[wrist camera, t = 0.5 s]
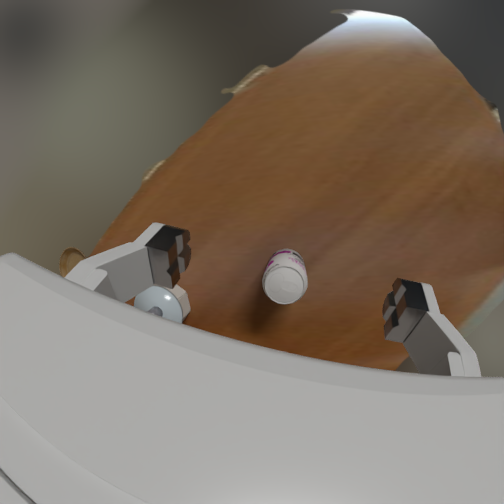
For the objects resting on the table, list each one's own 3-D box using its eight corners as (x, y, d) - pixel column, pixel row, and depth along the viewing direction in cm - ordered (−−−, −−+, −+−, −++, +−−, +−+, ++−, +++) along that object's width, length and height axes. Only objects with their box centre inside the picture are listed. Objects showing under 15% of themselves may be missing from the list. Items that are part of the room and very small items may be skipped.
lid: (188, 334, 62) (182, 343, 58) (144, 335, 65) (135, 342, 60) (176, 283, 60) (168, 288, 56) (130, 287, 63) (120, 292, 58)
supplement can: (264, 277, 64) (255, 299, 49) (274, 243, 62) (269, 256, 47) (297, 287, 63) (299, 312, 48) (308, 254, 61) (314, 270, 47)
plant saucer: (60, 250, 72) (54, 252, 69) (89, 241, 69) (83, 242, 67) (72, 294, 74) (67, 297, 72) (101, 289, 71) (96, 292, 69)
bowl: (193, 322, 68) (185, 332, 62) (155, 323, 70) (145, 332, 64) (183, 279, 67) (174, 286, 61) (144, 283, 68) (133, 290, 63)
